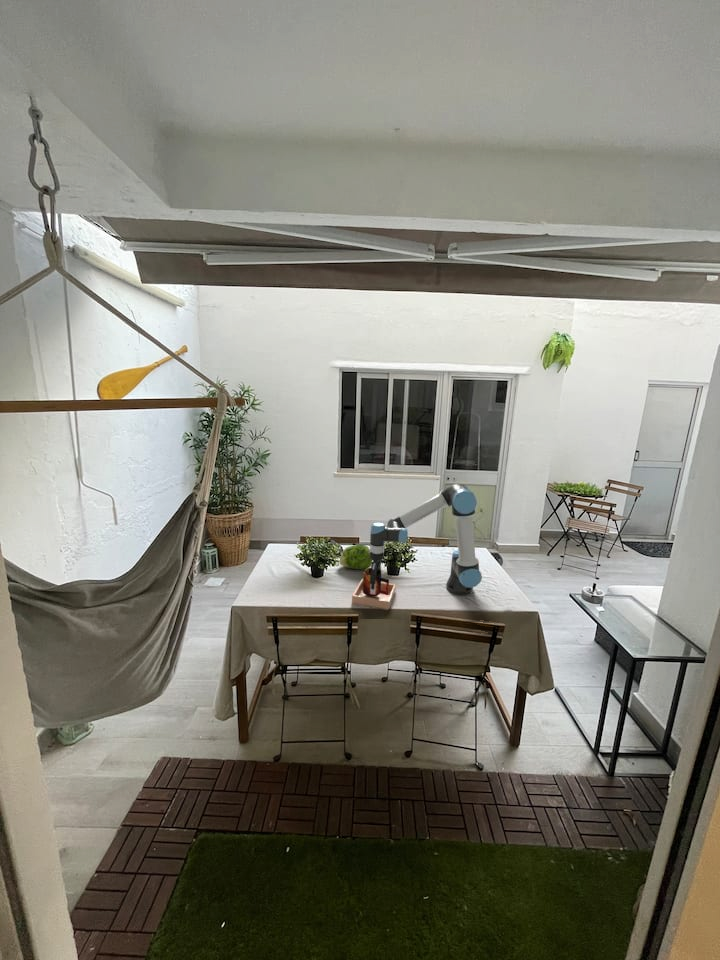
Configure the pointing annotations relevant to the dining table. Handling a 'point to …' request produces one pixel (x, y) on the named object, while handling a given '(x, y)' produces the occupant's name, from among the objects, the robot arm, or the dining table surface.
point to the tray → (374, 597)
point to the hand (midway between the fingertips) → (374, 589)
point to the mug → (378, 583)
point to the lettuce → (356, 557)
